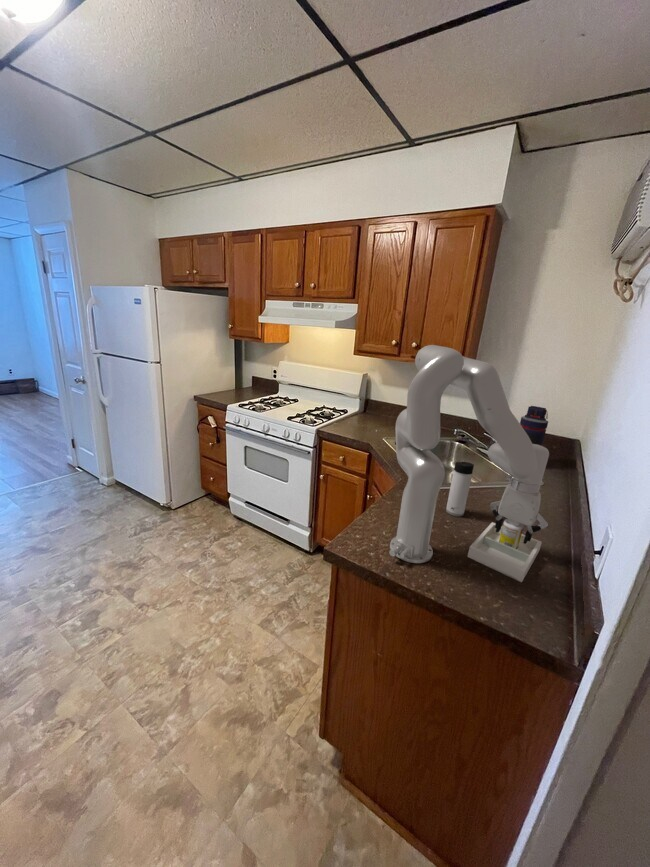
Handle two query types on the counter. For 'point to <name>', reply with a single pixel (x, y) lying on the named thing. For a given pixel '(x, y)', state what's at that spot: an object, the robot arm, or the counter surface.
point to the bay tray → (504, 553)
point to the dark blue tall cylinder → (535, 424)
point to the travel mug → (459, 488)
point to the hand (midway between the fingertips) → (511, 535)
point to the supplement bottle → (511, 533)
